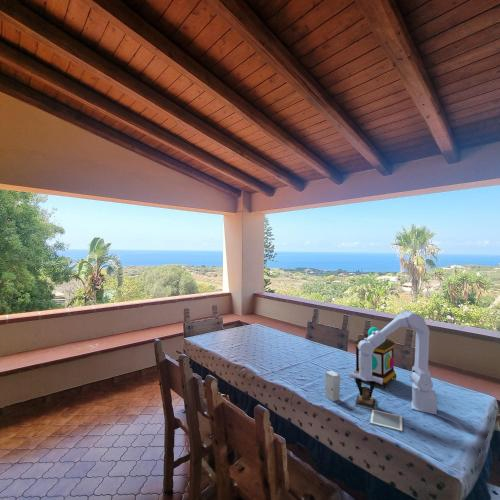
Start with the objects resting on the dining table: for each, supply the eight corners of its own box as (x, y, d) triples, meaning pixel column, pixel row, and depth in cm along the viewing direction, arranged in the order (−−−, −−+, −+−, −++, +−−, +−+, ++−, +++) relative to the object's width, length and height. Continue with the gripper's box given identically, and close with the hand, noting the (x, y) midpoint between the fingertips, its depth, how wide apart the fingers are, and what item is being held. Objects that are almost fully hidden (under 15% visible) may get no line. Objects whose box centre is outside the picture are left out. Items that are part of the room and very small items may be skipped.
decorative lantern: (400, 380, 158) (399, 327, 160) (387, 391, 145) (386, 333, 146) (365, 370, 173) (364, 321, 174) (350, 379, 159) (349, 326, 160)
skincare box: (324, 396, 139) (324, 371, 140) (332, 394, 141) (331, 370, 142) (333, 401, 134) (333, 376, 134) (340, 400, 136) (340, 374, 136)
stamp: (373, 399, 133) (373, 387, 134) (372, 405, 128) (371, 392, 128) (360, 396, 136) (359, 384, 137) (358, 402, 131) (358, 389, 131)
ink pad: (376, 401, 134) (376, 399, 134) (375, 410, 126) (375, 407, 126) (357, 397, 138) (357, 394, 138) (354, 405, 130) (354, 402, 130)
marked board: (402, 417, 121) (402, 415, 121) (402, 432, 110) (402, 430, 110) (372, 410, 126) (372, 409, 126) (369, 423, 116) (369, 422, 116)
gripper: (348, 366, 133) (348, 395, 132) (381, 372, 126) (382, 403, 125) (350, 362, 139) (350, 389, 138) (382, 367, 132) (383, 396, 132)
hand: (365, 395), depth 132 cm, fingers closed on stamp, 4 cm apart
